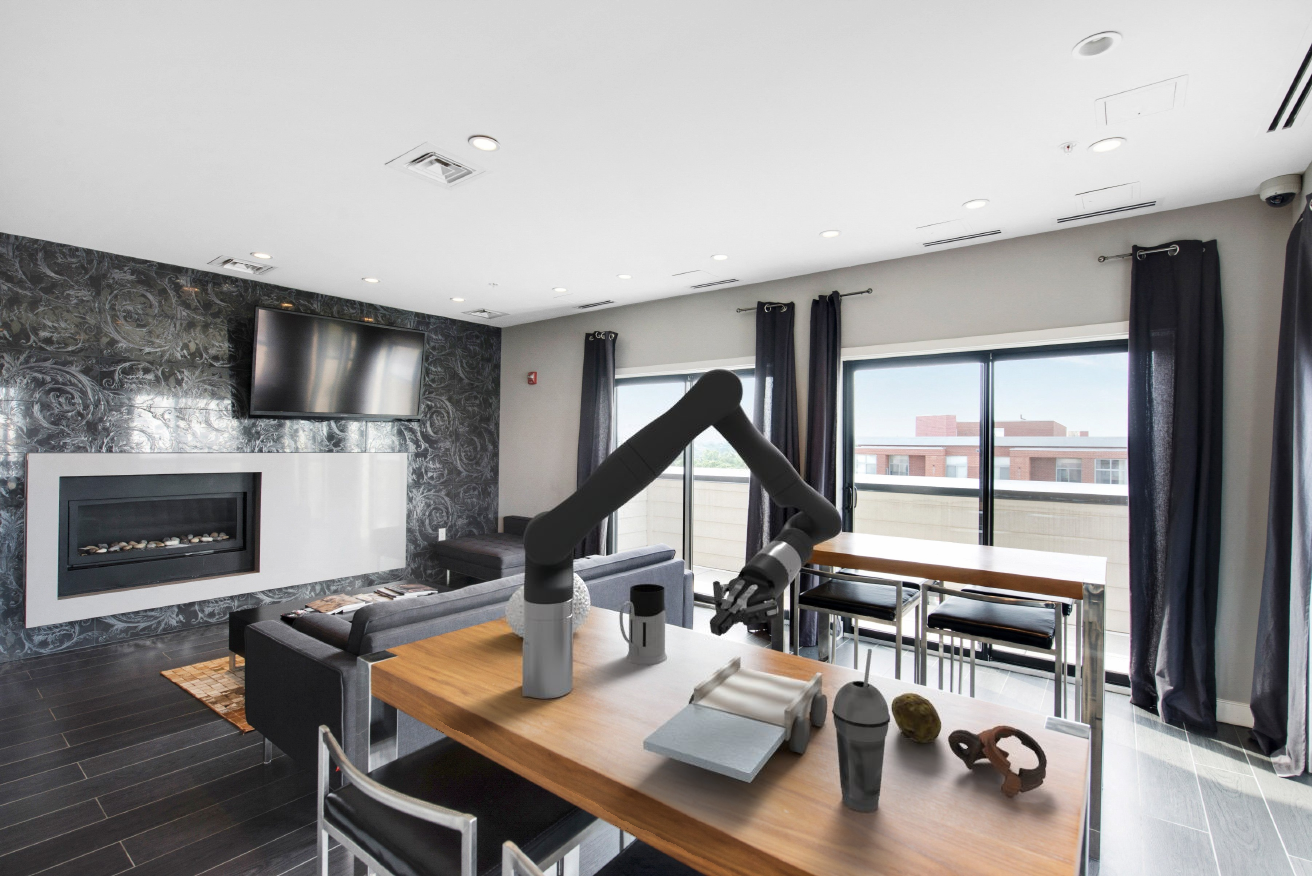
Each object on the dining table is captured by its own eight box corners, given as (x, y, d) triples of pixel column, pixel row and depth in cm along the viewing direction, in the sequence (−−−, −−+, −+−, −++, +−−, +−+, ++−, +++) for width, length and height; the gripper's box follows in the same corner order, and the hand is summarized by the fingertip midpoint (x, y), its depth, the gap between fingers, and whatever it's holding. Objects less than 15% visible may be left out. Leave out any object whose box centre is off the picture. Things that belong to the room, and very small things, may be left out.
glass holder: (674, 655, 134) (674, 586, 134) (638, 676, 122) (638, 601, 122) (641, 647, 138) (641, 581, 138) (603, 667, 126) (603, 594, 126)
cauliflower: (576, 584, 161) (563, 543, 151) (610, 630, 149) (598, 589, 139) (507, 626, 154) (488, 586, 143) (537, 678, 142) (518, 638, 131)
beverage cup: (823, 787, 84) (824, 640, 84) (874, 784, 84) (875, 639, 84) (844, 820, 76) (845, 660, 76) (900, 817, 77) (901, 658, 77)
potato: (956, 733, 99) (956, 684, 99) (932, 765, 89) (932, 710, 89) (903, 717, 105) (904, 671, 104) (875, 746, 95) (875, 695, 95)
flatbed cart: (729, 691, 115) (729, 654, 115) (830, 715, 105) (830, 675, 105) (683, 730, 99) (684, 687, 99) (796, 763, 90) (797, 715, 90)
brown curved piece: (1023, 766, 90) (1047, 731, 86) (1033, 828, 82) (1060, 793, 78) (937, 734, 93) (957, 699, 89) (940, 791, 86) (961, 756, 81)
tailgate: (689, 703, 98) (643, 740, 86) (786, 728, 90) (749, 773, 78) (689, 714, 98) (643, 753, 86) (786, 740, 90) (749, 787, 78)
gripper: (736, 543, 110) (677, 598, 98) (803, 563, 101) (747, 625, 90) (741, 578, 113) (684, 634, 101) (806, 599, 104) (753, 664, 93)
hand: (714, 630), depth 96 cm, fingers closed
